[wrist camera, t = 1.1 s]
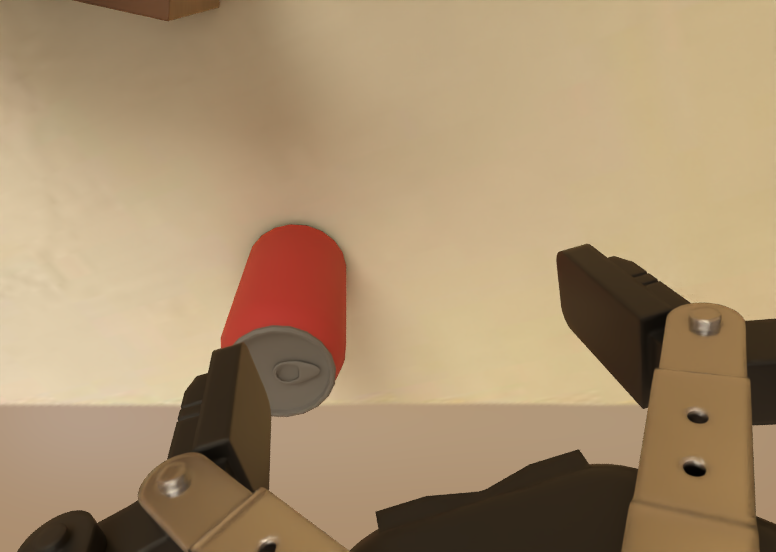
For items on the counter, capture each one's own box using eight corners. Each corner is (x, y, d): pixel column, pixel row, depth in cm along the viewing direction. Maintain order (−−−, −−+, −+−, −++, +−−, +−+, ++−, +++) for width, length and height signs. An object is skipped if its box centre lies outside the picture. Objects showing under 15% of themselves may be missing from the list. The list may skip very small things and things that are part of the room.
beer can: (350, 302, 40) (351, 420, 30) (257, 310, 40) (225, 431, 29) (341, 216, 37) (339, 313, 26) (240, 224, 37) (198, 325, 26)
